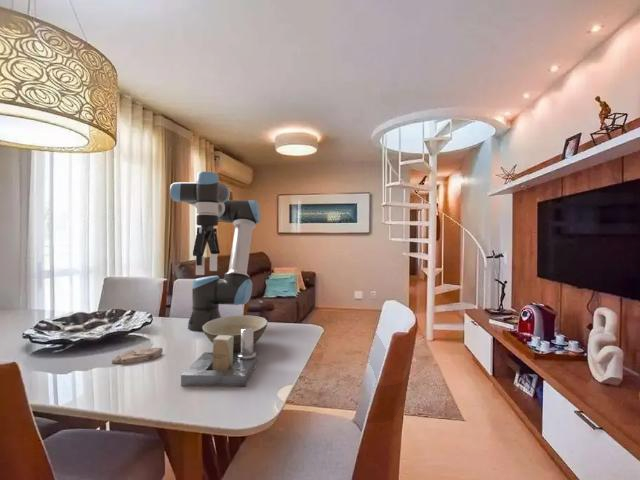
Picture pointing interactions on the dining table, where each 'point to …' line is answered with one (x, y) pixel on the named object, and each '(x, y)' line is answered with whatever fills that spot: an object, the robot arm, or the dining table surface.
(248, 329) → the round door knob
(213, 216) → the robot arm
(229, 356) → the box
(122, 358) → the stone
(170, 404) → the dining table surface
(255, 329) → the bowl
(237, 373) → the square recessed tray
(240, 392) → the dining table surface
